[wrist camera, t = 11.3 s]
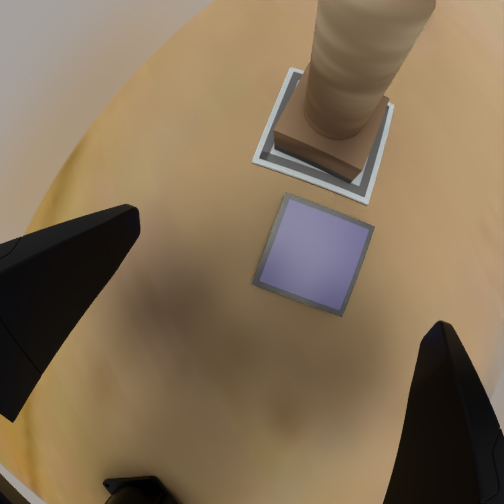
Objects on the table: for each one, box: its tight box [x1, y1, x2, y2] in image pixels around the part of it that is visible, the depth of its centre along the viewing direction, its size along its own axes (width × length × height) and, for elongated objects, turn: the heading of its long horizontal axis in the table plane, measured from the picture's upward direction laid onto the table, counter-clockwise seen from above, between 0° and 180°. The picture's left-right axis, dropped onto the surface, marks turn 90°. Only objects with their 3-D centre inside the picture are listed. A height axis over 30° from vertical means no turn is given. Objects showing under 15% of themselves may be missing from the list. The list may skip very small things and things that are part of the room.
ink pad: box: [252, 192, 375, 317], centre depth 17 cm, size 6×6×2 cm
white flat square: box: [252, 67, 394, 205], centre depth 18 cm, size 8×8×1 cm
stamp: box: [274, 0, 436, 184], centre depth 11 cm, size 5×5×12 cm
